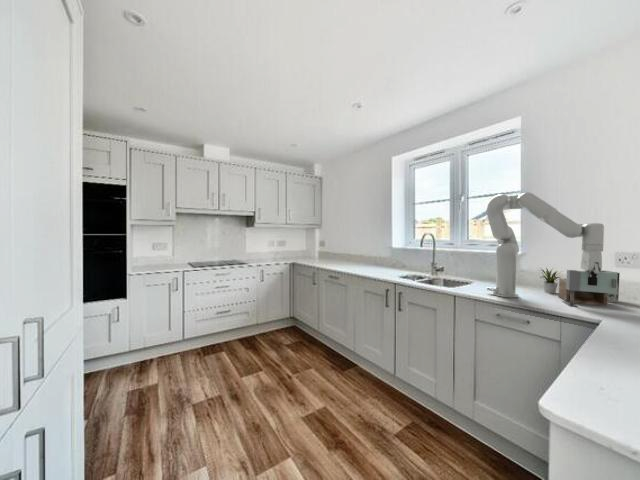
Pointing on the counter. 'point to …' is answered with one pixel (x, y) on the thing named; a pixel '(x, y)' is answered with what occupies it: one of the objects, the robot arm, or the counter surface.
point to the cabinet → (580, 296)
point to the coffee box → (613, 296)
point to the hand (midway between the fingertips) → (591, 284)
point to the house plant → (549, 281)
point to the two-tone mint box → (580, 283)
